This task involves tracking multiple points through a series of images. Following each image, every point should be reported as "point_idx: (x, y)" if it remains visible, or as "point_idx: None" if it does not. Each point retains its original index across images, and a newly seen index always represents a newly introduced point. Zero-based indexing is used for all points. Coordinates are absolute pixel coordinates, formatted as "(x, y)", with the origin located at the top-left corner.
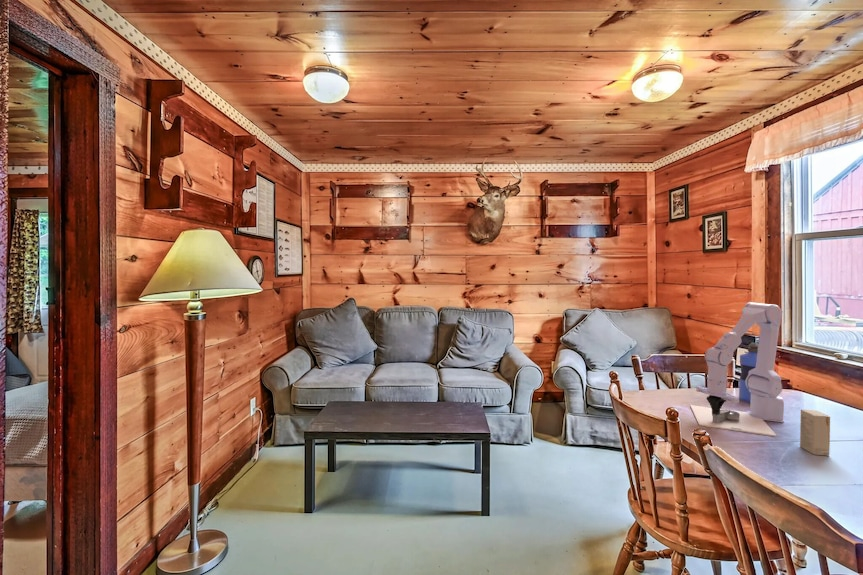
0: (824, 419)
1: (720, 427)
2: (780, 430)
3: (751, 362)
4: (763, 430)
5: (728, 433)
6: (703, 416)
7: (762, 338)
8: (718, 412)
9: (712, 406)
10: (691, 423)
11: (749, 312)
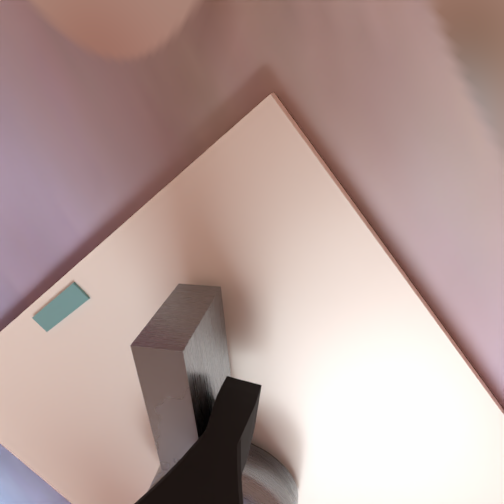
0: None
1: (121, 227)
2: (23, 481)
3: None
4: (6, 412)
5: (21, 163)
6: (383, 389)
7: None
8: (186, 438)
9: (203, 491)
10: (376, 69)
11: None
